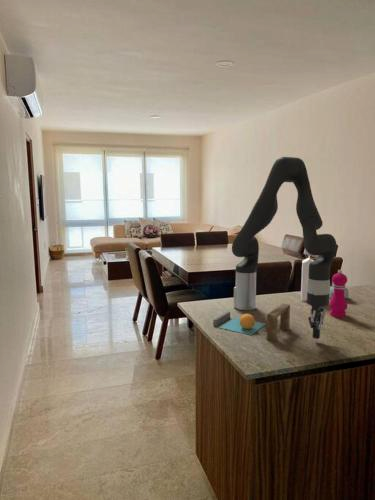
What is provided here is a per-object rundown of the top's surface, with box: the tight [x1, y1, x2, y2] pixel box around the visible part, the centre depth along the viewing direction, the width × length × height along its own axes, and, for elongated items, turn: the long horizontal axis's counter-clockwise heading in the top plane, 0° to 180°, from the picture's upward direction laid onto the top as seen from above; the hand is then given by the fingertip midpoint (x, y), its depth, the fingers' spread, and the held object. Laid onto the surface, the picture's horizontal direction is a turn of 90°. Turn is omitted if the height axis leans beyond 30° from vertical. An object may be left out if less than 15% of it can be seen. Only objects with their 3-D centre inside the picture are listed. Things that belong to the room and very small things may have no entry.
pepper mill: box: [328, 269, 348, 318], centre depth 160 cm, size 7×7×20 cm
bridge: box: [266, 303, 291, 342], centre depth 141 cm, size 3×15×10 cm, turn 145°
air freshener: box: [329, 280, 350, 299], centre depth 185 cm, size 11×8×10 cm
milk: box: [300, 255, 315, 302], centre depth 183 cm, size 6×6×22 cm
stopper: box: [212, 311, 231, 327], centre depth 155 cm, size 1×12×2 cm, turn 145°
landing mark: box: [219, 317, 267, 336], centre depth 150 cm, size 14×14×1 cm
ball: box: [239, 313, 256, 329], centre depth 146 cm, size 6×6×6 cm
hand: (316, 337), depth 133 cm, fingers closed
